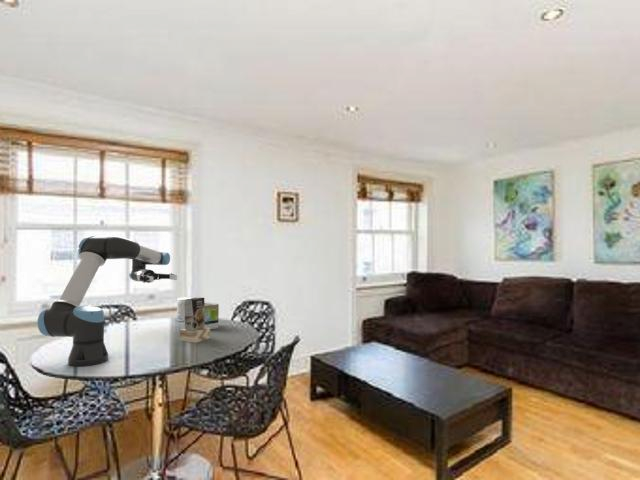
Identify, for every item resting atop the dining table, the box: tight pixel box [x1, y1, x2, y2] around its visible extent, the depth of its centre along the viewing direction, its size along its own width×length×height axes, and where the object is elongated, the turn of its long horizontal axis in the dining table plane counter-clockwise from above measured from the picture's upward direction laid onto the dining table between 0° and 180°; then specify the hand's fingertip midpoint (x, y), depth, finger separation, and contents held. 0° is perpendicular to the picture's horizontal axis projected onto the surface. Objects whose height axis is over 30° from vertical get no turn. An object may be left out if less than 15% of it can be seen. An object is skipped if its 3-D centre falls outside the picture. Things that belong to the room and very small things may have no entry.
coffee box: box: [184, 297, 205, 330], centre depth 216 cm, size 9×6×16 cm
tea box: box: [204, 301, 220, 330], centre depth 245 cm, size 15×10×15 cm, turn 49°
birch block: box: [179, 327, 211, 344], centre depth 216 cm, size 11×11×6 cm
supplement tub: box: [176, 297, 192, 323], centre depth 266 cm, size 10×10×15 cm
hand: (164, 278), depth 222 cm, fingers open, 13 cm apart
